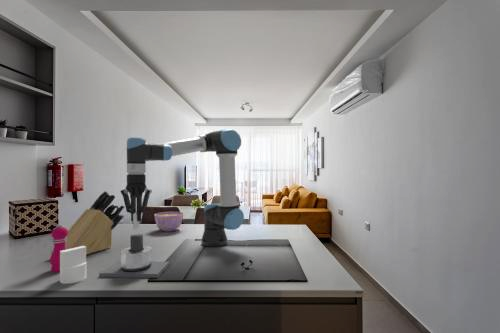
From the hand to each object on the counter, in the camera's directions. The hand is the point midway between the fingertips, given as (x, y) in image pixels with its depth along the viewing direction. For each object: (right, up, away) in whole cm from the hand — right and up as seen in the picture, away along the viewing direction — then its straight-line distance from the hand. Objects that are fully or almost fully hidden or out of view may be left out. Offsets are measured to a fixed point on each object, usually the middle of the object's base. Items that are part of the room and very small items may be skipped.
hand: (136, 228), depth 122 cm
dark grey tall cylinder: (0, -15, 0) cm, 15 cm away
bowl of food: (-8, -19, +78) cm, 81 cm away
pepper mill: (-34, -18, +2) cm, 39 cm away
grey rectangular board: (0, -18, 0) cm, 18 cm away
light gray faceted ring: (0, -17, 0) cm, 17 cm away
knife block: (-36, -18, +29) cm, 50 cm away
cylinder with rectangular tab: (-21, -18, -9) cm, 29 cm away
